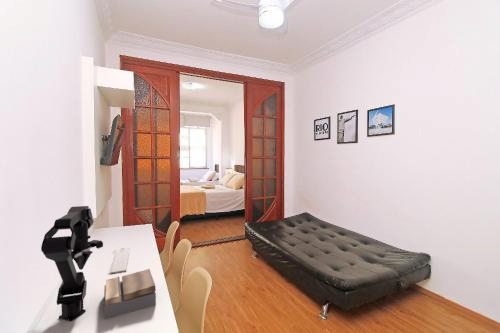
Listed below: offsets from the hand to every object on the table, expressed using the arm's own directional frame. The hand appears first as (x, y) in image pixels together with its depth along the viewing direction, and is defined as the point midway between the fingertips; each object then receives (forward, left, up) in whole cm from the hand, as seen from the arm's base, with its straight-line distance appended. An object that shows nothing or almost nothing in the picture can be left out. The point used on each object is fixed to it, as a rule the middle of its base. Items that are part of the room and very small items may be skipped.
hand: (81, 269), depth 109 cm
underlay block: (+4, -22, -13) cm, 26 cm away
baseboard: (+35, +12, -14) cm, 39 cm away
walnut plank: (+7, -24, -7) cm, 26 cm away
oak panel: (0, -17, -8) cm, 19 cm away
